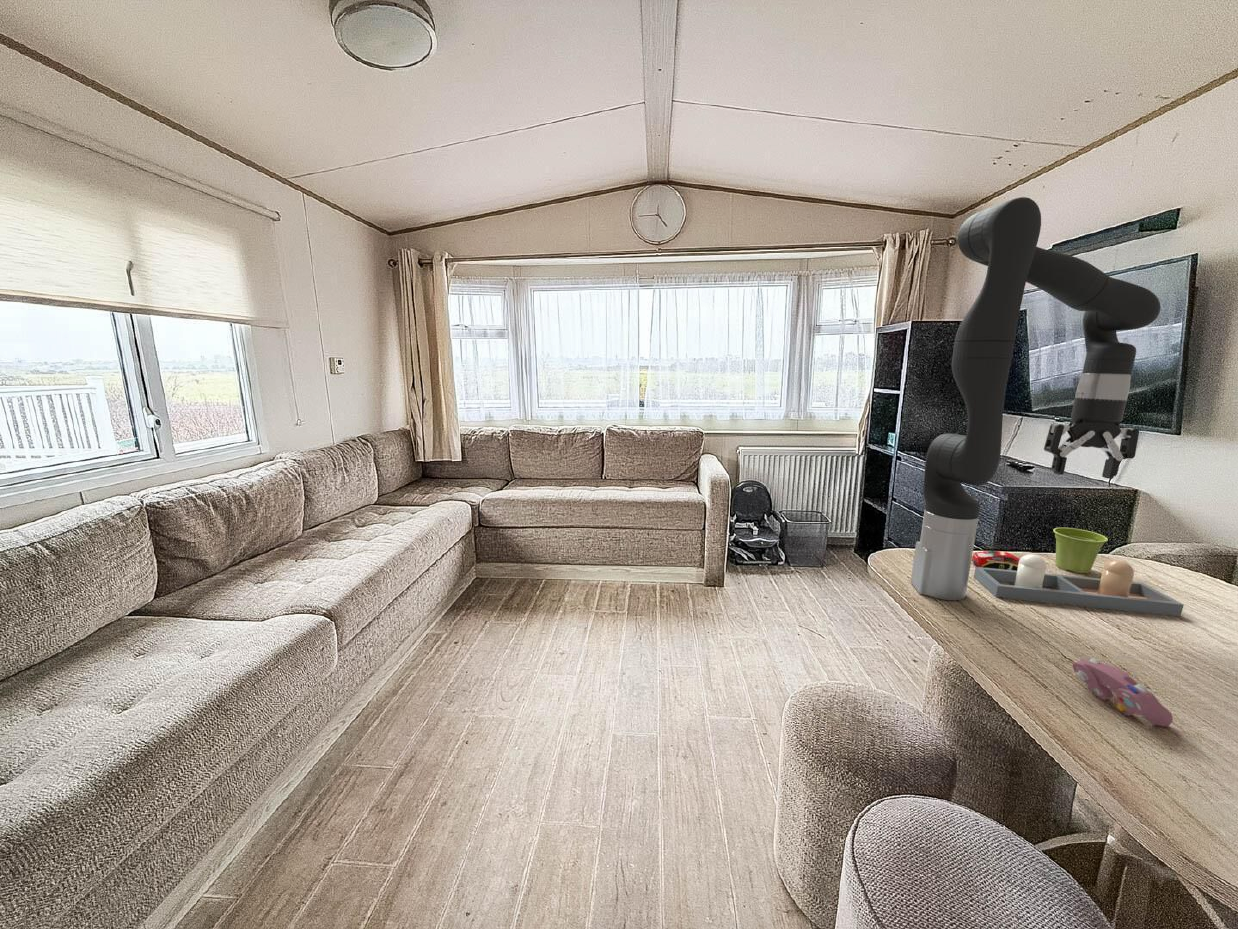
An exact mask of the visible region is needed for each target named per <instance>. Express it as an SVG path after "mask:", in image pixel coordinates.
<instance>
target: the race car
mask: <svg viewBox="0 0 1238 929" xmlns="http://www.w3.org/2000/svg"><path fill="white" fill-rule="evenodd" d="M1020 559H1021V557H1018V556H1016V555H1015V554H1013V553H1010V552H1006V551H1002V550H1001V551H1000V550H984V551H976V552H974V553H973V554H972V559H971V563H973V564H974V565H976V567H983V568H993V569H1004V570H1014V571H1017V569H1018V564H1019V560H1020Z"/></svg>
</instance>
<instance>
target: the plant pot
mask: <svg viewBox="0 0 1238 929" xmlns="http://www.w3.org/2000/svg"><path fill="white" fill-rule="evenodd" d="M1052 532H1053V533H1054V538H1055V542H1056V543H1055V566H1056V567H1058V568H1060V569H1061V570H1065V571H1071V572H1073V573H1076V574H1088V573H1090V572H1091V570H1092V568H1093V566H1094V563H1095V562H1096V559H1097V556H1098V554H1099V552H1100V551H1101V548H1102V547H1104V545H1105V543H1107V542H1108V540H1109V539H1108V537H1106V536H1104V535H1103V534H1100V533H1097V532H1094V531H1090V530H1086V529H1080V528H1074V527H1056V528H1053V531H1052Z"/></svg>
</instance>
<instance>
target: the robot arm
mask: <svg viewBox="0 0 1238 929" xmlns="http://www.w3.org/2000/svg"><path fill="white" fill-rule="evenodd" d="M1041 228H1042V213H1041V210H1040V207H1039V205H1038V203H1037V202H1035V200H1033V199H1031V198H1030V197H1025V196H1024V197H1023V196H1022V197H1016V198H1012V199H1009V200H1006V201H1004V202H1001V203H998V204H996V205H994V206H990V207H987V208H985V209H982V210H981V211H977V212H976V213H974V214H972V215H971V216H969V217H968V218H966V220H964V222H963V223H962V225H961V226H960V228H959V230H958V233H957V245H958V248H959V251H960V252H961V253H962V255H963V256H964V257H965V258H967V259H969V260H971V261H972V262H975V263H978V264H980V265H983V266H986V267H987V268H986V269H987V270H986V274H985V275H986V276H985V279H984V282H983V285H982V288H981V290H980V291H979V293H978V295H977V297H976V299H975V301H974V302H973V303H972V304H971V306H970V308H969V309H968V311H967V312H966V314H965V316H964V317H963V319H962V321H961V322H960V324H959V326H958V329H957V332H956V334H955V339H954V345H953V351H952V356H951V372H952V375H953V379H954V381H955V383H956V386H957V388H958V390H959V392H960V394H961V397H962V399H963V401H964V404H965V407H966V412H967V426H966V435H963V434H959V433H958V434H957V433H943V434H940V435H938V436H937V437H935V438H934V439H933V440H932V442H931V443H930V445H929V447H928V449H927V453H926V458H925V464H924V475H923V476H924V478H923V486H922V488H923V490H922V493H923V498H924V503H925V504H924V505H925V506H924V513H923V517H922V518H923V519H922V527H921V534H920V540H919V541H916V542H915V546H914V547H915V548H914V555H913V563H912V570H911V576H910V584H911V585H912V586H913V587H914V588H915V590H916V591H917V592H918V594H920V595H925V596H929V597H932V598H935V599H940V600H945V601H960V600H961V601H962V600H964V599H965V598H966V596H967V589H968V584H969V575H970V571H971V564H972V561H971V560H972V556H973V554H974V553H973V552H974V546H975V540H976V533H977V528H978V522H979V517H980V513H981V512H980V510H981V506H980V505H981V504H980V503H979V502H978V500H976V499H975V498H974V497H972V496H971V495H970V494H969V493H968V492H966V490H965V488H964V487H963V484H967V485H969V486H978V487H979V486H984V485H986V484H988V483H989V482H990V481H991V480H992V479H993V478H994V476H995V474H996V472H997V470H998V468H999V464H1000V458H1001V454H1002V453H1001V452H1002V450H1001V449H1002V441H1003V440H1002V439H1003V436H1002V435H1003V422H1004V421H1003V420H1004V419H1003V416H1004V409H1005V408H1004V407H1005V399H1006V392H1007V387H1008V386H1007V385H1008V380H1009V374H1010V369H1011V364H1012V360H1013V354H1014V349H1015V341H1016V335H1017V328H1018V323H1019V322H1018V321H1019V317H1020V312H1021V306H1022V302H1023V296H1024V293H1025V289H1026V288H1025V287H1026V284H1027V283H1028V284H1029V285H1032V286H1033V287H1036V288H1038V289H1039V290H1041V291H1043V292H1045V293H1047V294H1048V295H1050V296H1052V297H1053V298H1055V299H1056V300H1058V301H1060V302H1061V303H1062V304H1064V305H1066V306H1067V307H1068V308H1071V309H1073V310H1075V311H1077V312H1078V311H1079V312H1084V313H1083V316H1082V317H1083V318H1082V328H1083V336H1084V345H1085V352H1086V355H1085V360H1084V364H1083V367H1082V371H1081V372H1082V373H1081V375H1080V376H1081V377H1080V379H1079V381H1078V383H1077V387H1076V391H1075V397H1074V401H1073V406H1072V410H1071V413H1070V414H1071V415H1070V422H1069V424H1068V425H1065V424H1061V423H1054V422H1053V423H1050V425H1049V429H1048V433H1047V435H1046V440H1045V443H1044V447H1043V450H1044V452H1047V453H1050V454H1052V455H1053V458H1052V462H1051V467H1050V468H1051V471H1053V474H1055V475H1058V476H1059V475H1060V476H1061V475H1064V473H1065V469H1066V464H1067V460H1068V459H1067V458H1068V457H1067V456H1068V455H1069V454H1071V453H1072V452H1074V450H1077V449H1078V448H1080V447H1082V448H1095V449H1101V451H1103V452H1104V453H1105V456H1106V457H1107V459H1106V458H1105V461H1104V465H1103V470H1102V474H1101V477H1103V478H1105V479H1109V480H1112V479H1114V477H1117V475H1118V472H1119V468H1120V466H1121V465H1120V464H1121V461H1123V460H1127V459H1130V460H1131V459H1134V458H1135V456H1136V453H1137V447H1138V440H1139V434H1140V430H1139V429H1138V428H1133V427H1124V428H1121V426H1120V424H1121V422H1122V421H1123V419H1124V418H1123V417H1124V414H1125V410H1126V405H1127V402H1128V397H1129V392H1130V388H1131V378H1132V372H1133V369H1134V364H1135V360H1136V356H1137V348H1136V346H1134V344H1130V343H1125V342H1120V341H1119V340H1118V335H1117V331H1129V330H1131V331H1132V330H1139V329H1142V328H1145V327H1147V326H1149V325H1151V324H1152V323H1153V322H1154V321H1155V320H1156V319H1157V318H1158V316H1159V314H1160V312H1161V303H1160V299H1159V298H1158V296H1157V295H1156V294H1155V293H1154V292H1153V291H1151V290H1150V289H1149V288H1146V287H1144V286H1141V285H1138V284H1135V283H1132V282H1128V281H1125V280H1123V279H1118V278H1114V277H1111V276H1109V275H1108V274H1107V273H1105V272H1104V271H1103V270H1101V269H1099V268H1098V267H1096V266H1094V265H1093V264H1091V263H1090V262H1088V261H1086V260H1084V259H1081V258H1079V257H1077V256H1073V255H1070V254H1065V253H1060V252H1057V251H1053V250H1049V249H1045V248H1042V247H1040V246H1037V245H1038V242H1039V237H1040V234H1041ZM1066 432H1067V434H1068V437H1066V438H1065V439H1064V440H1063V441H1062V442H1061V440H1062V437H1063V435H1065V434H1066ZM1118 436H1119V438H1120V446H1119V445H1118V444H1117V443H1116V441H1115V439H1116V438H1117V437H1118ZM1060 443H1061V444H1060ZM962 483H963V484H962Z"/></svg>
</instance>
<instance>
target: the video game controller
mask: <svg viewBox="0 0 1238 929" xmlns="http://www.w3.org/2000/svg"><path fill="white" fill-rule="evenodd" d="M1072 669H1073V671H1074V673H1075V674H1076V676H1077V677H1078V678H1079V680H1082V681H1083V682H1084V683H1085V684H1086V686H1088V688H1089V689H1090V691H1091V692H1092V693H1093V694H1094V696H1095V697H1097V698H1099V699H1100V700H1102V701H1106V700H1108V699H1110V698H1112V697H1114V696H1113V695H1114V694H1113V693H1115V695H1116V697H1115V698H1113V699H1112V700H1113V701H1112V703H1113V706H1115V707H1116V709H1117V710H1118V711H1120V712H1121V714H1122V713H1123V714H1124V715H1126V716H1128V717H1130V716H1133V715H1135V714H1136V715H1139V716H1142V718H1144V719H1146V720H1147V721H1148V722H1150V723H1151V724H1152V725H1155V726H1158V727H1163V728H1165V727H1170V725H1171V724H1172V723H1173V720H1174V718H1173V715H1172V713H1171V711H1170V710H1169V709H1168V708H1166V707H1165V706H1164V705H1163V704H1162V703H1160V701H1159V700H1158V699H1157V697H1156V696H1155V694H1153V693H1152V692H1151V691H1149V690H1148V688H1147V687H1146V686H1144V685H1142V684H1141V683H1138V682H1137V681H1136V680H1135V679H1133V678H1132V676H1130V674H1128V673H1127V672H1126V671H1124V670H1122V669H1120V668H1119V667H1116V666H1114V665H1110V664H1107V663H1101V662H1100V661H1099V660H1098V659H1096V658H1095V657H1092V658H1090V659H1087V658H1086V659H1081V660H1078V661H1076V662H1074V663H1072Z"/></svg>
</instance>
